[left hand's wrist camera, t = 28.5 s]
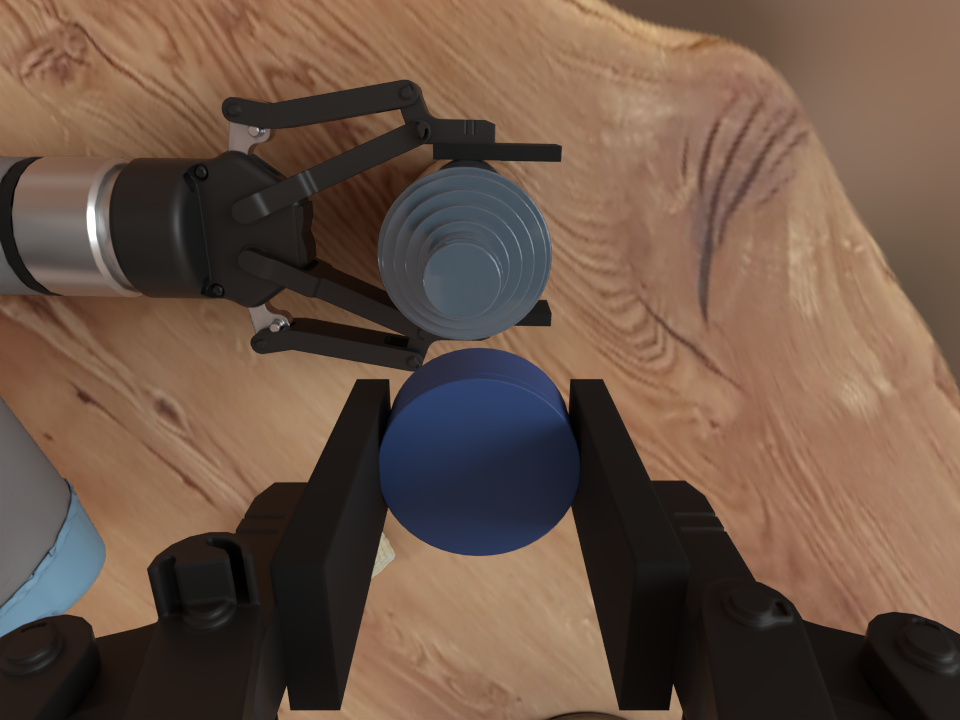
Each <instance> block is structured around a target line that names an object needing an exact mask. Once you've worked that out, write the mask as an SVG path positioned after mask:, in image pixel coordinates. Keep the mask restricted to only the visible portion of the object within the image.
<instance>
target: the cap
mask: <svg viewBox="0 0 960 720" xmlns="http://www.w3.org/2000/svg"><path fill="white" fill-rule="evenodd" d="M379 467H380V482H381V493H382V495H383V498H384V500H385V502H386V504H387V506H388V508H389V509H390V511H391V512H392V514H393V515H394V517H395V518H396V519H397V520H398V521H399V522H400V524H401V525H402V526H403V527H405V528H406V529H407V530H408V531H409V532H410V533H412V534H413V535H414V536H416V537H417V538H418V539H420V540H422V541H424V542H425V543H427V544H429V545H431V546H434V547H436V548H439V549H441V550H444V551H448V552H451V553H456V554H462V555H471V556H488V555H496V554H503V553H507V552H510V551H514V550H517V549H519V548H522V547H525V546H527V545H529V544H531V543H533V542H534V541H536V540H538V539H539V538H541V537H542V536H544V535H545V534H547V533H548V532H549V531H550V530H551V529H552V528H554V527H555V526H556V525H557V524H558V522H559V521H560V520H561V519H562V518H563V517H564V515H565V514H566V512H567V511H568V509H569V508H570V506H571V504H572V502H573V500H574V498H575V496H576V493H577V489H578V486H579V476H580V452H579V448H578V444H577V441H576V438H575V434H574V431H573V428H572V425H571V421H570V418H569V415H568V411H567V408H566V405H565V402H564V400H563V398H562V396H561V393H560V392H559V390H558V389H557V387H556V386H555V384H554V383H553V382H552V380H551V379H550V378H549V377H548V376H547V375H546V374H545V373H544V372H543V371H542V370H540V369H539V368H538V367H537V366H535V365H534V364H532V363H531V362H529V361H528V360H526V359H524V358H521V357H519V356H517V355H515V354H512V353H509V352H506V351H501V350H496V349H488V348H469V349H462V350H457V351H453V352H450V353H446V354H443V355H441V356H439V357H437V358H435V359H432V360H431V361H429V362H428V363H426V364H424V365H423V366H421V367H420V368H419V369H418V370H417V371H415V372H414V373H413V374H412V375H411V376H410V377H409V378H408V379H407V380H406V382H405V383H404V384H403V386H402V387H401V389H400V390H399V392H398V394H397V396H396V398H395V400H394V402H393V405H392V409H391V412H390V415H389V418H388V421H387V425H386V428H385V431H384V434H383V438H382V441H381V444H380V447H379Z"/></svg>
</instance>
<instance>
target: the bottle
mask: <svg viewBox="0 0 960 720" xmlns="http://www.w3.org/2000/svg"><path fill="white" fill-rule="evenodd" d="M377 259H378V268H379V272H380V276H381V280H382V282H383V285H384V287H385V290H386V292H387V293H388V295H389V297H390V299H391V300H392V302H393V303H394V304H395V306H396V307H397V308H398V310H399V311H400V312H401V313H402V314H403V315H404V316H405V317H406V318H408V319H409V320H410V321H411V322H412V323H414V324H415V325H417V326H418V327H420V328H422V329H423V330H425V331H428V332H430V333H432V334H435V335H438V336H441V337H444V338H449V339H456V340H476V339H481V338H487V337H490V336H493V335H496V334H498V333H501V332H503V331H505V330H507V329H509V328H510V327H512V326H514V325H515V324H516V323H518V322H519V321H520V320H521V319H523V318H524V317H525V316H526V315H527V314H528V313H529V312H530V311H531V310H532V308H533V307H534V306H535V304H536V303H537V302H538V300H539V298H540V297H541V295H542V293H543V291H544V289H545V286H546V284H547V281H548V277H549V274H550V269H551V261H552V247H551V240H550V235H549V231H548V228H547V224H546V222H545V220H544V218H543V215H542V213H541V212H540V210H539V208H538V207H537V205H536V203H535V202H534V200H533V199H532V197H531V196H530V194H529V192H528V191H527V189H526V188H525V186H524V185H523V183H522V182H521V180H520V178H519V177H518V176H517V175H516V173H515V172H514V171H513V170H512V169H511V168H510V167H509V166H507V165H506V164H504V163H503V162H502V161H490V160H437V161H436V162H434V163H433V164H432V165H430V166H429V167H428V168H427V169H426V170H425V171H424V172H423V173H422V174H421V175H420V176H418V177H417V178H416V179H415V180H414V181H413V182H412V183H411V184H410V185H409V186H408V187H407V188H406V189H405V190H404V191H403V192H402V193H401V194H400V195H399V196H398V197H397V199H396V200H395V201H394V202H393V204H392V205H391V207H390V209H389V210H388V212H387V214H386V216H385V218H384V221H383V223H382V226H381V230H380V233H379V238H378V245H377Z"/></svg>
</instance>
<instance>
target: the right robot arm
mask: <svg viewBox="0 0 960 720" xmlns="http://www.w3.org/2000/svg"><path fill="white" fill-rule="evenodd" d="M397 109H400V110H401V113H402V115H403V118H404V121H405V125H403V126H401V127H399V128H397V129H394V130H392V131H390V132H388V133H386V134H384V135H381V136H379V137H377V138H375V139H373V140H371V141H368V142H366V143H364V144H362V145H360V146H358V147H355V148H353V149H351V150H349V151H347V152H345V153H342V154H340V155H338V156H336V157H334V158H332V159H330V160H327V161H325V162H323V163H321V164H319V165H317V166H314V167H312V168H310V169H308V170H306V171H303V172H301V173H298V174H296V175H294V176H292V177H290V178H287V177H285V176H284V175H283V174H281V173H280V172H278V171H277V170H276V169H274V168H273V167H271V166H270V165H269V164H267V163H266V162H264V161H263V160H262V159H260V158H259V157H258V156H256V155H255V154H253V152H254V148H255V146H256V145H257V144H259V143H263V142H269V141H271V140H272V139H273V138H274V136H275V129H282V128H294V127H301V126H307V125H312V124H318V123H324V122H329V121H335V120H341V119H346V118H352V117H358V116H363V115H369V114H375V113H380V112H386V111H392V110H397ZM222 113H223V115H224V117H225V118H226V119H227V120H228V121H230V129H229V151H226V152H224V153H222V154H221V155H219V156H217V157H215V158H213V159H176V158H137V159H134V160H133V161H129V160H127V159H124V158H119V157H64V156H46V157H30V158H25V157H0V295H56V296H97V297H138V296H141V295H143V294H144V295H146V296H148V297H154V298H206V299H216V298H222V299H228V300H231V301H234V302H236V303H238V304H240V305H242V306H244V307H248V310H249V313H250V316H251V320H252V323H253V326H254V330H255V333H256V335H255V336H254V337H253V338H252V339H251V347H252V349H253V350H254V351H255V352H257V353H260V354H266V353H273V352H280V351H287V350H297V351H302V352H308V353H313V354H319V355H324V356H330V357H335V358H341V359H346V360H351V361H357V362H362V363H368V364H373V365H379V366H384V367H390V368H395V369H401V370H406V371H417V370H418V369H419V368H420V367H421V366H422V364H423V361H424V358H425V355H426V353H427V350H428V348H429V346H430V345H431V344H432V343H433V342H434V341H437V340H456V339H449V338H444V337H441V336H438V335H435V334H432V333H430V332H428V331H425V330H423V329H422V328H420V327H418V326H417V325H415V324H414V323H412V322H411V321H410V320H409V319H408V318H406V317H405V316H404V315H403V314H402V313H401V312H400V311H399V310H398V308H397V307H396V306H395V304H394V303H393V302H392V300H391V299H390V297H389V295H388V293H387V292H386V291H384V290H382V289H380V288H377V287H375V286H373V285H371V284H368V283H366V282H364V281H362V280H359V279H357V278H355V277H353V276H350V275H348V274H346V273H343V272H341V271H339V270H337V269H335V268H333V267H332V265H330V264H329V263H327V262H325V261H323V260H320V259H318V258H316V244H315V240H314V237H313V234H312V232H311V224H312V219H313V206H312V201H309V199H308V196H311V195H313V194H315V193H317V192H319V191H321V190H324V189H326V188H328V187H330V186H332V185H335V184H337V183H339V182H341V181H343V180H346V179H348V178H350V177H352V176H354V175H357V174H359V173H361V172H363V171H365V170H368V169H370V168H372V167H374V166H376V165H379V164H381V163H383V162H385V161H387V160H390V159H392V158H394V157H396V156H398V155H401V154H403V153H405V152H407V151H409V150H412V149H414V148H416V147H418V146H420V145H423V144H433V159H434V160H490V161H545V162H561V151H562V146H560V145H557V144H525V143H495V124H493V123H491V122H488V121H486V120H453V119H437V118H435V117H433V116H432V115H431V114H430V113H429V111H428V109H427V106H426V104H425V101H424V98H423V95H422V91H421V88H420V87H419V86H418V85H417V84H415V83H414V82H412V81H409V80H400V81H394V82H388V83H383V84H377V85H372V86H366V87H361V88H355V89H349V90H344V91H338V92H333V93H327V94H322V95H316V96H310V97H305V98H299V99H294V100H288V101H283V102H277V103H270V102H265V101H261V100H256V99H250V98H237V97H229V98H227V99H225V101H224V102H223V104H222ZM285 288H288V289H291V290H293V291H295V292H297V293H300V294H302V295H304V296H307V297H316V298H319V299H322V300H324V301H326V302H329V303H331V304H333V305H336V306H338V307H340V308H343V309H345V310H347V311H349V312H352V313H354V314H356V315H359V316H361V317H363V318H366V319H368V320H370V321H373V322H375V323H377V324H380V325H382V326H384V327H387V328H389V329H391V330H393V331H396V332H398V333H400V334H403V335H405V336H402V335H397V334H392V333H386V332H381V331H375V330H370V329H365V328H359V327H354V326H349V325H343V324H338V323H333V322H327V321H322V320H317V319H310V318H293V317H292V315H291V314H290V313H289V312H288V311H286V310H279V309H276V308H274V307H273V306H272V305H271V303H270V301H269V300H270V299H272V298H273V297H274V296H276V295H277V294H278V293H280V292H281V291H282V290H284V289H285ZM514 326H551V311H550V308H549V305H548V302H547V300H538V302H537V303H536V304H535V306H534V307H533V308H532V310H531V311H530V312H529V313H528V314H527V315H526V316H525V317H524V318H523V319H521V320H520V321H519V322H518V323H516V324H515V325H514ZM487 338H490V337H487ZM487 338H481V339H476V340H472V341H482V340H485V339H487ZM469 341H470V340H469ZM105 554H106V551H105V544H104V542H103V540H102V538H101V536H100V535H99V533H98V532H97V530H96V528H95V526H94V525H93V523H92V521H91V520H90V518H89V516H88V515H87V513H86V511H85V510H84V508H83V506H82V504H81V503H80V501H79V499H78V498H77V495H76V492H75V490H74V487H73V485H71V484H70V483H69V482H68V481H67V479H64V478H62V477H61V475H60V474H59V473H58V471H57V470H56V469H55V467H54V466H53V465H52V463H51V462H50V461H49V459H48V458H47V457H46V455H45V454H44V453H43V451H42V450H41V449H40V447H39V446H38V445H37V443H36V442H35V441H34V440H33V438H32V437H31V436H30V434H29V433H28V432H27V430H26V429H25V428H24V426H23V425H22V424H21V422H20V421H19V420H18V418H17V417H16V416H15V414H14V413H13V412H12V410H11V409H10V408H9V407H8V405H7V404H6V403H5V401H4V400H3V399H2V397H1V396H0V637H1V636H3V635H5V634H7V633H9V632H11V631H12V630H14V629H16V628H18V627H20V626H22V625H23V624H26V623H29V622H32V621H35V620H38V619H41V618H44V617H49V616H58V615H62V614H64V613H65V612H66V611H67V610H68V609H70V608H71V607H72V606H73V605H74V604H75V603H76V602H77V601H78V600H79V599H80V598H81V597H82V596H83V595H84V594H85V593H86V592H87V590H88V589H89V588H90V587H91V586H92V584H93V583H94V581H95V580H96V579H97V577H98V575H99V573H100V571H101V569H102V567H103V565H104V561H105Z"/></svg>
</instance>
